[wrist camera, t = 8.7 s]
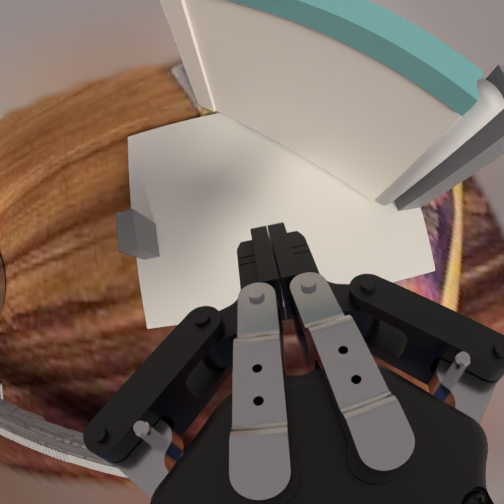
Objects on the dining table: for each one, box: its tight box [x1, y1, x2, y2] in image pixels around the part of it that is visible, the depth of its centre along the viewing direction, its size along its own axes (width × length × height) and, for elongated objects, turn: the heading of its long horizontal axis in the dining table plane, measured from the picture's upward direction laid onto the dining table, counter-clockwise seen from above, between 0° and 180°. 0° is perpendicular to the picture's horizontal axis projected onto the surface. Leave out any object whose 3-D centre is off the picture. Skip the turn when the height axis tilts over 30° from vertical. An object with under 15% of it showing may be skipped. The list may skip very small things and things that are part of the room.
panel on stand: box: [116, 65, 504, 329], centre depth 15 cm, size 21×15×15 cm
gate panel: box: [160, 0, 504, 206], centre depth 15 cm, size 16×2×13 cm, turn 57°
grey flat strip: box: [0, 383, 184, 478], centre depth 18 cm, size 2×30×8 cm, turn 84°
